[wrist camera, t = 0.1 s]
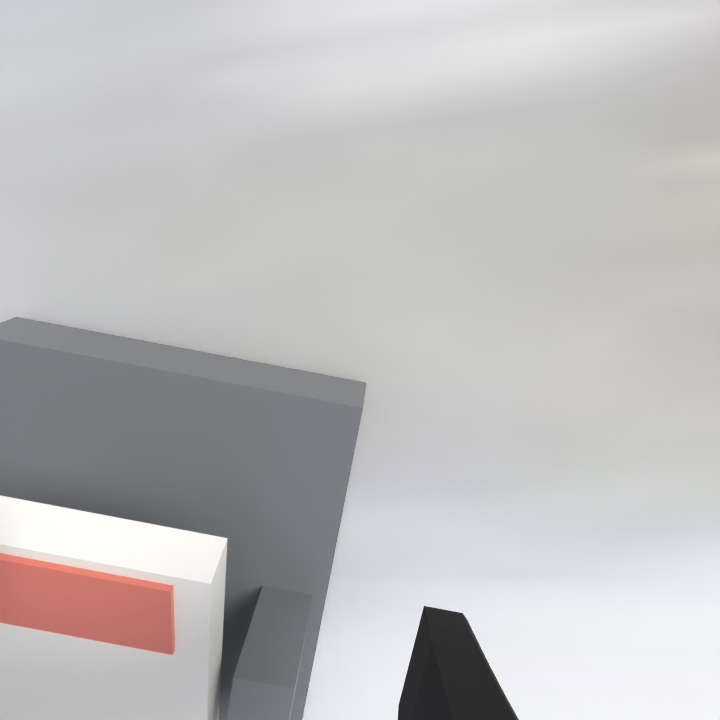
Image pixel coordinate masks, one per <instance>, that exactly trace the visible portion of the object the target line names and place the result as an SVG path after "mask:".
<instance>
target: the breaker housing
mask: <svg viewBox="0 0 720 720" xmlns="http://www.w3.org/2000/svg"><path fill="white" fill-rule="evenodd" d="M365 388H366V383H364V382H359V381H353V380H348V379H343V378H337V377H332V376H327V375H321V374H316V373H311V372H306V371H300V370H295V369H290V368H284V367H279V366H274V365H268V364H263V363H258V362H252V361H247V360H242V359H236V358H231V357H226V356H220V355H215V354H210V353H205V352H199V351H194V350H189V349H183V348H178V347H173V346H167V345H162V344H157V343H151V342H146V341H141V340H135V339H130V338H125V337H120V336H114V335H109V334H104V333H98V332H93V331H88V330H82V329H77V328H72V327H66V326H61V325H56V324H50V323H45V322H40V321H34V320H29V319H24V318H19V317H15V318H13V319H10V320H8V321H5V322H2V323H0V495H1V496H6V497H11V498H17V499H22V500H27V501H32V502H38V503H43V504H48V505H54V506H59V507H64V508H70V509H75V510H80V511H86V512H91V513H96V514H102V515H107V516H112V517H117V518H123V519H128V520H133V521H139V522H144V523H149V524H155V525H160V526H165V527H171V528H176V529H181V530H186V531H192V532H197V533H202V534H208V535H213V536H218V537H224V538H227V559H226V579H225V599H224V620H223V640H222V661H221V681H220V701H219V720H302V717H303V712H304V707H305V701H306V696H307V691H308V686H309V681H310V676H311V671H312V666H313V660H314V655H315V650H316V645H317V640H318V635H319V630H320V624H321V619H322V614H323V609H324V604H325V599H326V594H327V589H328V583H329V578H330V573H331V568H332V563H333V558H334V553H335V547H336V542H337V537H338V532H339V527H340V522H341V517H342V512H343V506H344V501H345V496H346V491H347V486H348V481H349V476H350V470H351V465H352V460H353V455H354V450H355V445H356V440H357V435H358V429H359V424H360V419H361V414H362V409H363V402H364V395H365Z"/></svg>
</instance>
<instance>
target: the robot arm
mask: <svg viewBox="0 0 720 720" xmlns="http://www.w3.org/2000/svg"><path fill="white" fill-rule="evenodd" d="M398 720H519V719H518V718H517V716H516V714H515V712H514V711H513V709H512V707H511V705H510V703H509V702H508V700H507V698H506V696H505V694H504V692H503V690H502V688H501V687H500V685H499V683H498V681H497V679H496V677H495V675H494V673H493V671H492V669H491V667H490V665H489V663H488V661H487V659H486V657H485V655H484V653H483V651H482V649H481V647H480V645H479V643H478V641H477V639H476V637H475V635H474V633H473V631H472V629H471V627H470V625H469V623H468V621H467V619H466V618H465V616H464V615H463V613H458V612H453V611H448V610H442V609H437V608H432V607H426V606H424V609H423V613H422V616H421V620H420V624H419V628H418V632H417V636H416V640H415V644H414V648H413V652H412V656H411V659H410V663H409V667H408V671H407V675H406V679H405V683H404V687H403V691H402V695H401V698H400V702H399V710H398Z"/></svg>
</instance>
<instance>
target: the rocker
mask: <svg viewBox="0 0 720 720" xmlns="http://www.w3.org/2000/svg"><path fill="white" fill-rule="evenodd" d="M226 559H227V538H224V537H218V536H213V535H208V534H202V533H197V532H192V531H186V530H181V529H176V528H171V527H165V526H160V525H155V524H149V523H144V522H139V521H133V520H128V519H123V518H117V517H112V516H107V515H102V514H96V513H91V512H86V511H80V510H75V509H70V508H64V507H59V506H54V505H48V504H43V503H38V502H32V501H27V500H22V499H17V498H11V497H6V496H1V495H0V720H219V701H220V681H221V661H222V640H223V620H224V599H225V579H226Z"/></svg>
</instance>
